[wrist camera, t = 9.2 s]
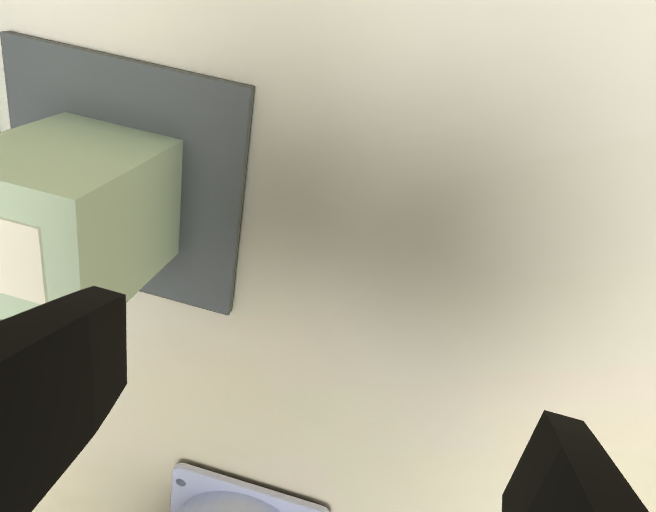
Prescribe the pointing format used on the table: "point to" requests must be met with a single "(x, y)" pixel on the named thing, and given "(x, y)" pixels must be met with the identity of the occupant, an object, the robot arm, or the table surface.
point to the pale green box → (84, 208)
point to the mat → (160, 118)
